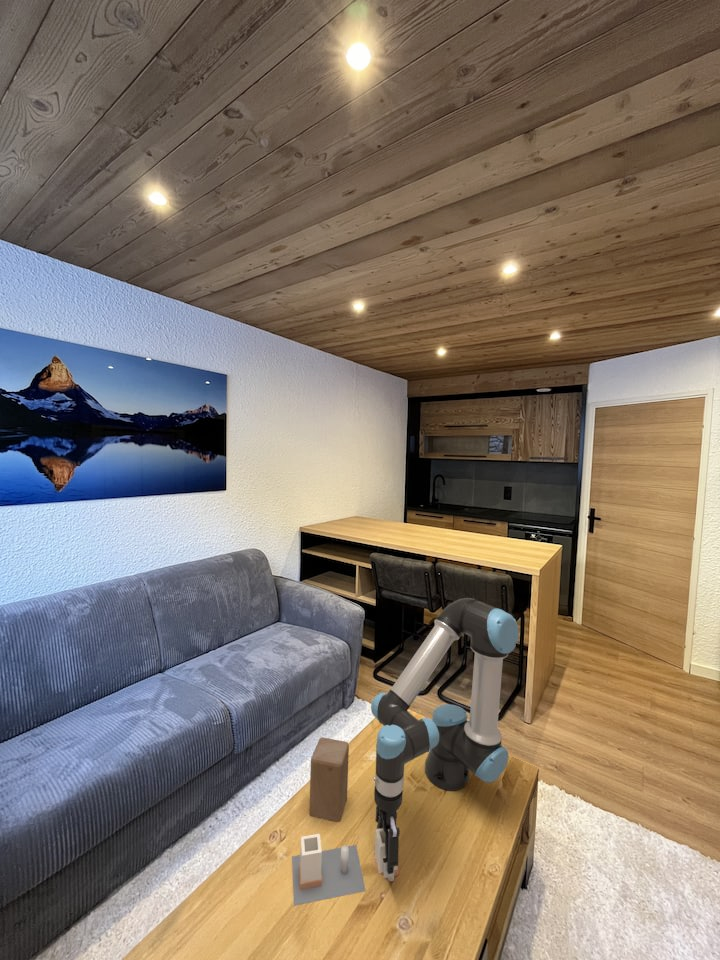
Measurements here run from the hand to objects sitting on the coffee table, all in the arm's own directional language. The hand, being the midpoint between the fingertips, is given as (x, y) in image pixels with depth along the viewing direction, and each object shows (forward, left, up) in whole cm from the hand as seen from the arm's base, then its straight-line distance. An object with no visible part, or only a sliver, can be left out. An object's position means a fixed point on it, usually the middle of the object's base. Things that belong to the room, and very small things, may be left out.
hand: (384, 866), depth 108 cm
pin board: (+16, 0, 0) cm, 16 cm away
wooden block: (+13, -20, 0) cm, 24 cm away
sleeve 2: (0, 0, 0) cm, 0 cm away
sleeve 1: (+20, 0, +1) cm, 20 cm away
